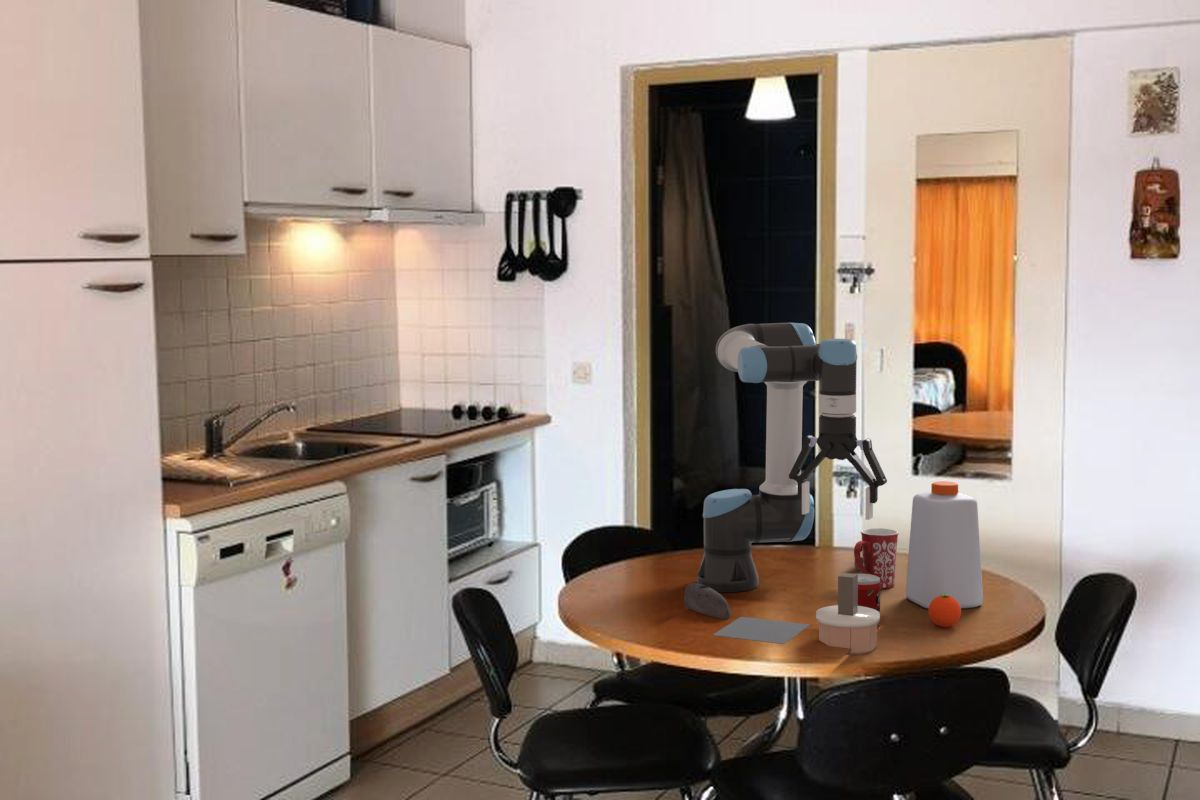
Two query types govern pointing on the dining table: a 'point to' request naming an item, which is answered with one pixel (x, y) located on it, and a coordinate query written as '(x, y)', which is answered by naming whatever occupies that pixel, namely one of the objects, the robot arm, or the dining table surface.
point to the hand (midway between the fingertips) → (837, 515)
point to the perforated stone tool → (706, 601)
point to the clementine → (944, 610)
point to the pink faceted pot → (849, 638)
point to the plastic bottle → (944, 547)
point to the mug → (878, 554)
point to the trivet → (761, 630)
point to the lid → (848, 606)
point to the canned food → (869, 591)
